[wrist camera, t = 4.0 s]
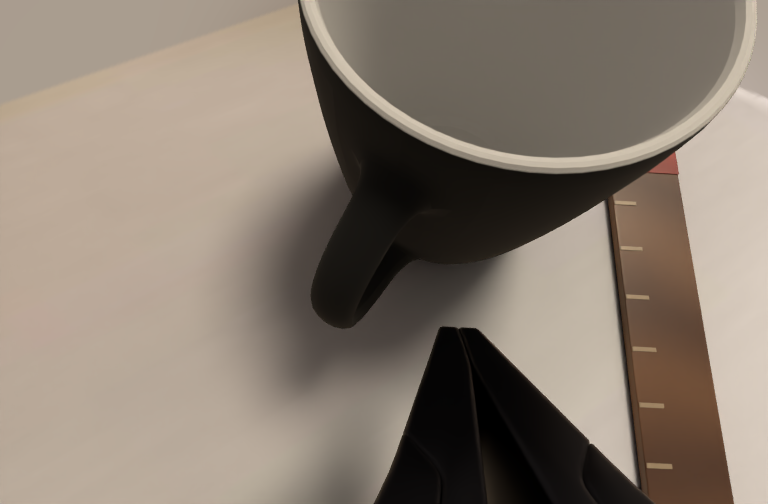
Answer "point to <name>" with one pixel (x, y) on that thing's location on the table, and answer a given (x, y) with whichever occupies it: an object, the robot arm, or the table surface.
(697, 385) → the ruler
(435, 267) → the table surface
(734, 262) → the table surface
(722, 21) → the mug
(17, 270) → the table surface
